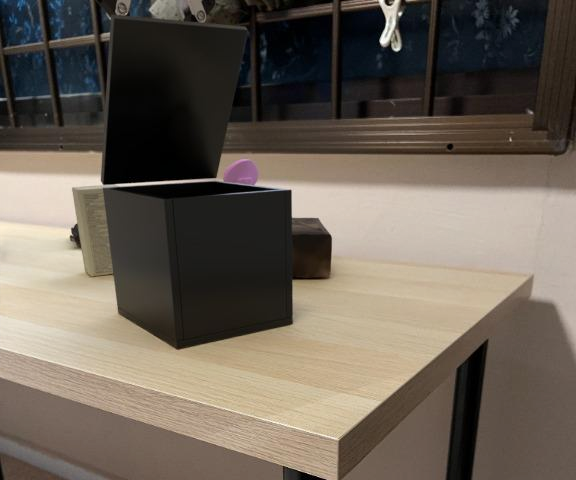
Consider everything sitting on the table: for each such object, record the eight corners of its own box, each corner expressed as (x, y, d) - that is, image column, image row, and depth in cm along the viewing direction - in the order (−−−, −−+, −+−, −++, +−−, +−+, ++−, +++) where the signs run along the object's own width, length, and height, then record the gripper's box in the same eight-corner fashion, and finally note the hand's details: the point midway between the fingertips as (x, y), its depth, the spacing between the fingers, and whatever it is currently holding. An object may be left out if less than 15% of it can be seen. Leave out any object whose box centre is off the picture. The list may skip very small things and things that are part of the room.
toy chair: (231, 248, 107) (227, 157, 102) (271, 252, 103) (269, 158, 97) (199, 255, 101) (192, 159, 95) (240, 261, 96) (236, 160, 91)
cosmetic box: (124, 267, 93) (115, 183, 89) (133, 272, 90) (123, 186, 85) (82, 271, 91) (70, 186, 86) (89, 277, 87) (77, 188, 82)
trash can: (293, 324, 65) (291, 189, 60) (177, 349, 58) (164, 199, 53) (221, 294, 77) (215, 180, 72) (117, 313, 70) (102, 187, 65)
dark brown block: (320, 253, 102) (320, 212, 99) (333, 279, 84) (334, 231, 82) (272, 254, 101) (271, 213, 99) (275, 281, 84) (274, 232, 81)
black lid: (248, 30, 60) (222, 5, 62) (114, 18, 53) (91, -10, 55) (216, 178, 71) (195, 152, 74) (103, 185, 64) (84, 155, 67)
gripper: (207, -125, 62) (219, 72, 69) (32, -164, 53) (65, 67, 60) (245, -152, 56) (253, 66, 63) (56, -201, 48) (89, 59, 54)
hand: (161, 64), depth 62 cm, fingers closed on black lid, 6 cm apart
